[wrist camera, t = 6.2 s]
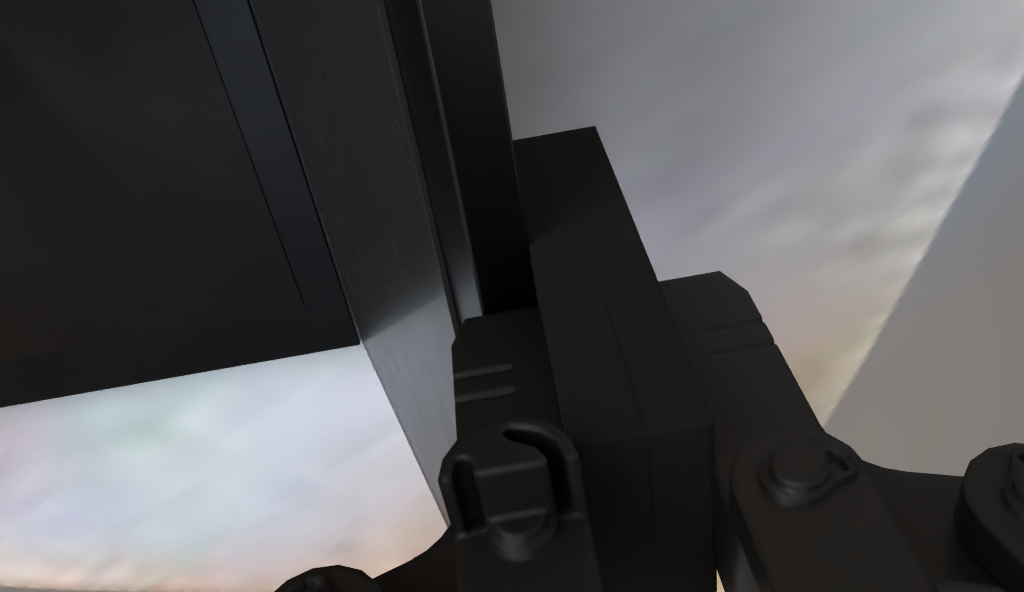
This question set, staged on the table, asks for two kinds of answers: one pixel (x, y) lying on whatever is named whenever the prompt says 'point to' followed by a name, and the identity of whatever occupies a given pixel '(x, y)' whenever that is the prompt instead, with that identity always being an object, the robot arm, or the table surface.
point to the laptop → (151, 200)
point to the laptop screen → (408, 183)
